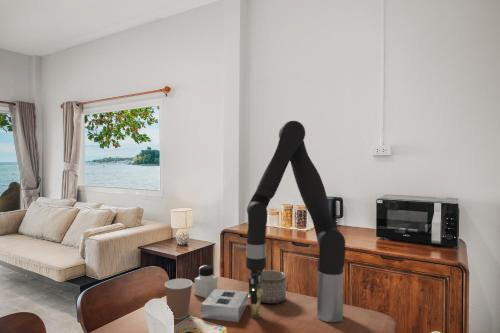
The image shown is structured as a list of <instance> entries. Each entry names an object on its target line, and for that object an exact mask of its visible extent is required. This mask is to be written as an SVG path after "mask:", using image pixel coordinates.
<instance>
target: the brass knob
mask: <svg viewBox="0 0 500 333" xmlns="http://www.w3.org/2000/svg"><path fill="white" fill-rule="evenodd" d="M252 290H254V288H252ZM247 292H248V300H250V301H251V294H249V288H248V291H247ZM257 292H258V293H257V304H251V303H250V314H249V315H250V317H251V319H260V317H261V301H260V300H261V299H263V289H262V288H260V287H258V291H257Z"/></svg>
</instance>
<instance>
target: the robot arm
mask: <svg viewBox="0 0 500 333" xmlns="http://www.w3.org/2000/svg"><path fill="white" fill-rule="evenodd" d="M305 129H306V128H305V126H304V125H303V124H302V122H299V121H297V120H289V121H287V122H285V123H284V124H283V125H282V126H281V127H280V129H279V131H278V139H279V140H278V143H277V147H276V149H275V152H274V154H273V156H272V158H271V160H270V161H269V163H268V165H267V167H265V170H264V172H263V174H262V176H261V178H260V180H259V183H258V185H257V187H256V190H255V192H254V194H253V195H252V197H251V199H250V201H249V203H248V205H247V207H246V212H247V232H246V249H245V267H246V269H247V270H250V273H249V278H248V289H249V294H251V300H250V305H251V304H257V293H258V292H257V291H258V287H261V284H262V271H264V270H266V269H267V245H266V244H267V242H266V241H267V240H266V239H267V235H266V234H267V231H266V230H267V229H266V228H267V220H268V209H267V208H268V206H269V203H270V202H271V201H272V199H273V198H274V196H275V194H276V193H277V191H278V189H279V186H280V184H281V181H282V179H283V177H284V174H285V172H286V170H287V167H288V165H289V163H290V165H291V169H292V173H293V176H294V179H295V182H296V186H297V189H298V191H299V195H300V197H301V199H302V202H303V204H304V206H305V208H306V210H307V212H308V214H309V216H310V218H311V221H312V224H313V229H314V231H315V236H316V241H317V243H318V248H319V250H318V251H319V252H318V254H319V256H318V263H317V283H316V286H317V288H316V291H317V294H316V295H317V296H316V301H317V302H316V317H317V318H318V319H319V320H321V321H323V322H327V323H338V322H341V323H342V322H343V321H344V318H343V316H344V292H343V291H344V267H345V263H346V262H345V260H346V259H345V258H346V240H345V236H344V234H343V233H342V232H341V231H340V230H339V229H338V228H337V225H336V224H335V222H334V220H333V219H334V218H333V217H332V214H331V213H330V208H329V200H328V196H327V191H326V189H325V186H324V183H323V181H322V178H321V175H320V173H319V171H318V169H317V167H316V166H315V164H314V163H313V162H312V160H311V158H310V156H309V154H308V151H307V148H306V144H305V137H306V130H305ZM252 288H254V290H252Z"/></svg>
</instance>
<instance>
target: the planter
mask: <svg viewBox="0 0 500 333" xmlns="http://www.w3.org/2000/svg"><path fill="white" fill-rule="evenodd" d="M286 281H287V274H285V272H283V271H279V270H273V269H270V270H267V269H264V270H262V284H261V287H260V288H262V289H263V299H261V300H260V303H265V304H278V303H281V302H284V301H285V299H286V294H287V293H286V292H287V290H286V289H287V287H286V286H287V285H286V284H287V282H286Z"/></svg>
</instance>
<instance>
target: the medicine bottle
mask: <svg viewBox="0 0 500 333" xmlns="http://www.w3.org/2000/svg"><path fill="white" fill-rule="evenodd" d="M214 289H218V276H214V267H213V266H212V265H209V264H208V265H207V264H205V265H204V264H203V265H202V266H201V265H200V267H199V268H198V276H197V277H195V278H194V295H195V296H197V297H201V298H205V299H206V298H207V297H208V296H209V295H210V294H211V293H212V292H213V290H214Z"/></svg>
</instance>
